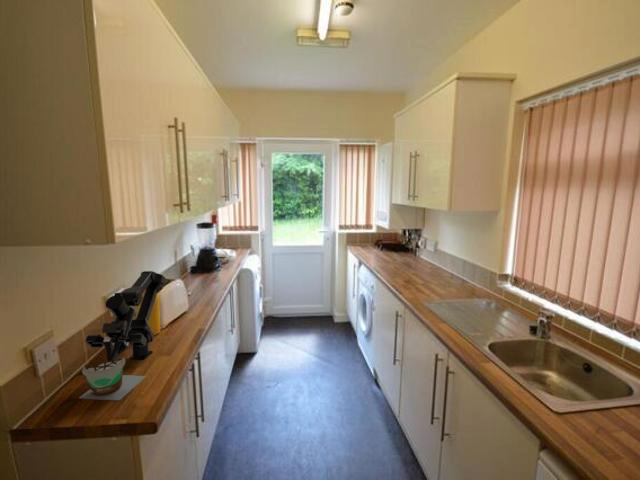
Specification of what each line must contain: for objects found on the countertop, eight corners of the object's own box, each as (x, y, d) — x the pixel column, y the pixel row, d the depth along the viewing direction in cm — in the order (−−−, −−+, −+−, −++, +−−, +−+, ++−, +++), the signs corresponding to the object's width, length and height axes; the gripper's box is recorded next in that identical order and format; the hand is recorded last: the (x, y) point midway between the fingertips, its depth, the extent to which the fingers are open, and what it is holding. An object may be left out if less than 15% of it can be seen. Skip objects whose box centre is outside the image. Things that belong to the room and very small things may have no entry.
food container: (85, 403, 108) (82, 376, 105) (84, 392, 113) (81, 366, 110) (129, 390, 115) (127, 364, 112) (127, 379, 120) (124, 355, 117)
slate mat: (110, 374, 125) (110, 374, 125) (146, 376, 124) (146, 376, 124) (78, 398, 110) (78, 397, 110) (119, 400, 109) (119, 400, 109)
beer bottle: (164, 332, 166) (162, 274, 162) (146, 338, 158) (143, 278, 155) (154, 328, 171) (151, 272, 167) (135, 334, 163) (132, 275, 160)
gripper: (86, 312, 118) (67, 357, 108) (141, 311, 120) (129, 355, 110) (99, 326, 126) (84, 368, 117) (151, 324, 128) (140, 366, 118)
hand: (109, 364), depth 115 cm, fingers closed
